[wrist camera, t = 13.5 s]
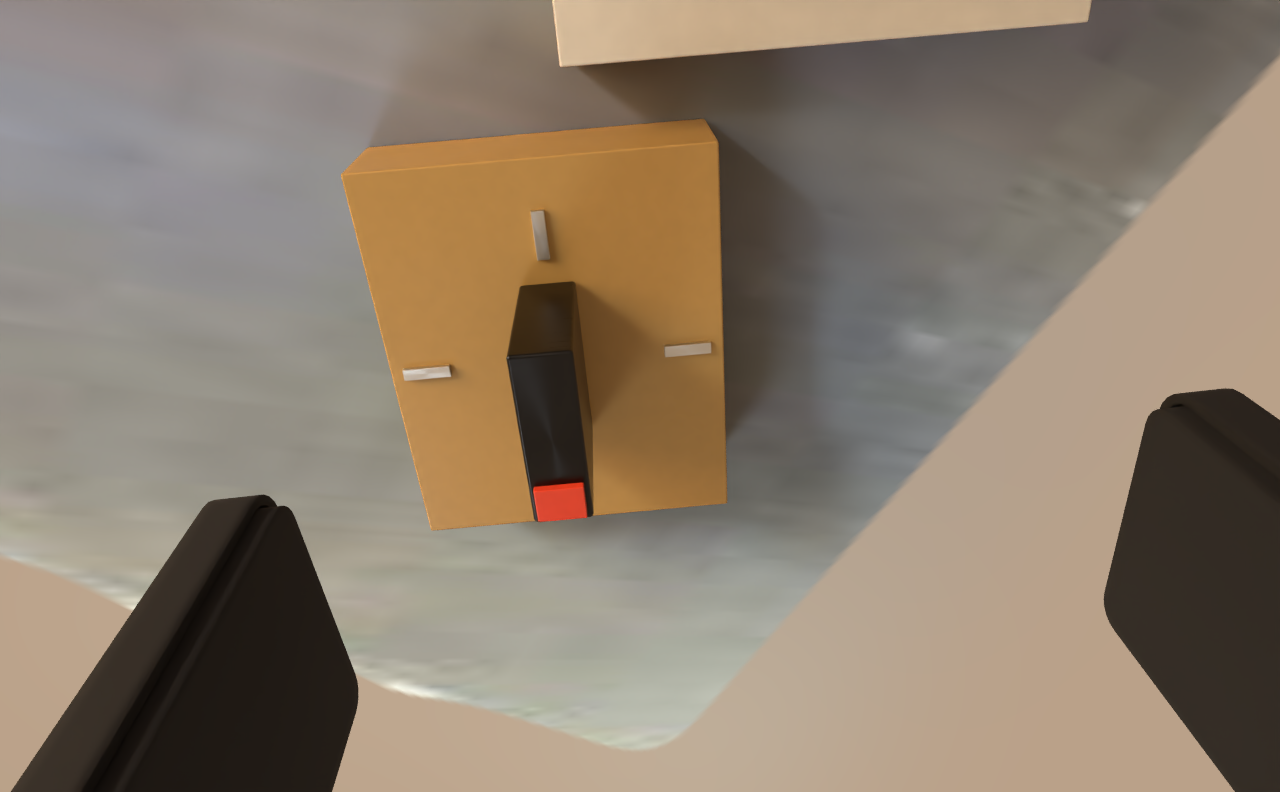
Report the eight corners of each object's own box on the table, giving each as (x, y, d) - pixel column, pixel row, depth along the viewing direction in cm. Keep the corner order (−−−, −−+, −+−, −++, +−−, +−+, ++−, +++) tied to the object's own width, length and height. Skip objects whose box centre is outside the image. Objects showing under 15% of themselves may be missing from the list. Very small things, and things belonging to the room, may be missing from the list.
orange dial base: (366, 147, 24) (338, 175, 21) (704, 118, 24) (720, 142, 22) (444, 479, 30) (430, 534, 27) (715, 454, 30) (728, 506, 28)
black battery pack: (519, 284, 23) (504, 361, 19) (575, 279, 23) (572, 355, 19) (542, 432, 26) (533, 528, 22) (592, 428, 26) (594, 523, 22)
